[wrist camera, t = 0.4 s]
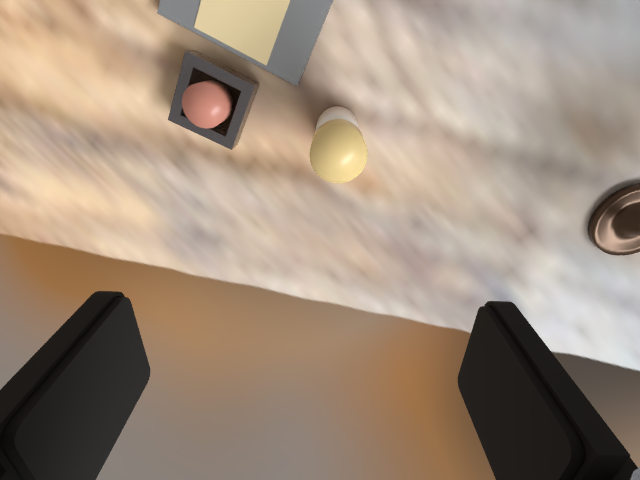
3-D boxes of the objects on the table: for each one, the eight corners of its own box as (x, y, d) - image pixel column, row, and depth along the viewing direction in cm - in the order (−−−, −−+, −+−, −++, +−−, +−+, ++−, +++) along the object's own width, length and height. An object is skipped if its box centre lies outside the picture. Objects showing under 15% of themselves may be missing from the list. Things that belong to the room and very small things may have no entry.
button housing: (195, 50, 34) (185, 50, 32) (259, 83, 35) (254, 86, 33) (177, 115, 37) (167, 119, 35) (237, 143, 38) (231, 149, 36)
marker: (327, 97, 36) (325, 115, 26) (366, 117, 37) (378, 142, 27) (308, 137, 38) (300, 168, 28) (345, 156, 39) (350, 192, 29)
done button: (199, 72, 34) (188, 74, 31) (238, 92, 34) (230, 95, 32) (188, 111, 36) (177, 116, 33) (225, 129, 36) (217, 135, 34)
